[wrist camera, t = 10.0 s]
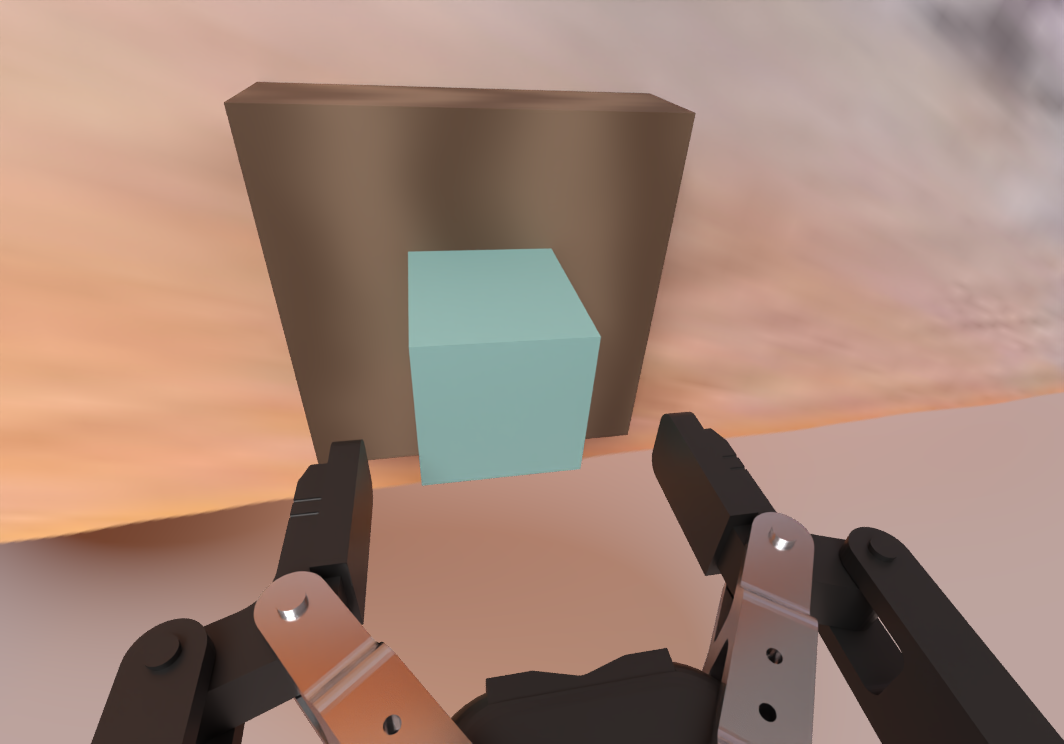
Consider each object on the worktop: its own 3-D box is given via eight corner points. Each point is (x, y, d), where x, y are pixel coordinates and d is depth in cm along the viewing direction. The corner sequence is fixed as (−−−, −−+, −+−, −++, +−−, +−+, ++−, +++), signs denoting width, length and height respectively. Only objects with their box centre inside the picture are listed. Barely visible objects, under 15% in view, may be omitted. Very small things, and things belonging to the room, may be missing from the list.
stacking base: (649, 93, 20) (695, 113, 17) (602, 384, 28) (627, 434, 25) (256, 81, 18) (223, 102, 14) (329, 406, 26) (318, 464, 22)
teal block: (551, 248, 19) (601, 336, 14) (541, 363, 22) (580, 468, 17) (407, 251, 18) (408, 347, 13) (418, 371, 21) (422, 485, 16)
